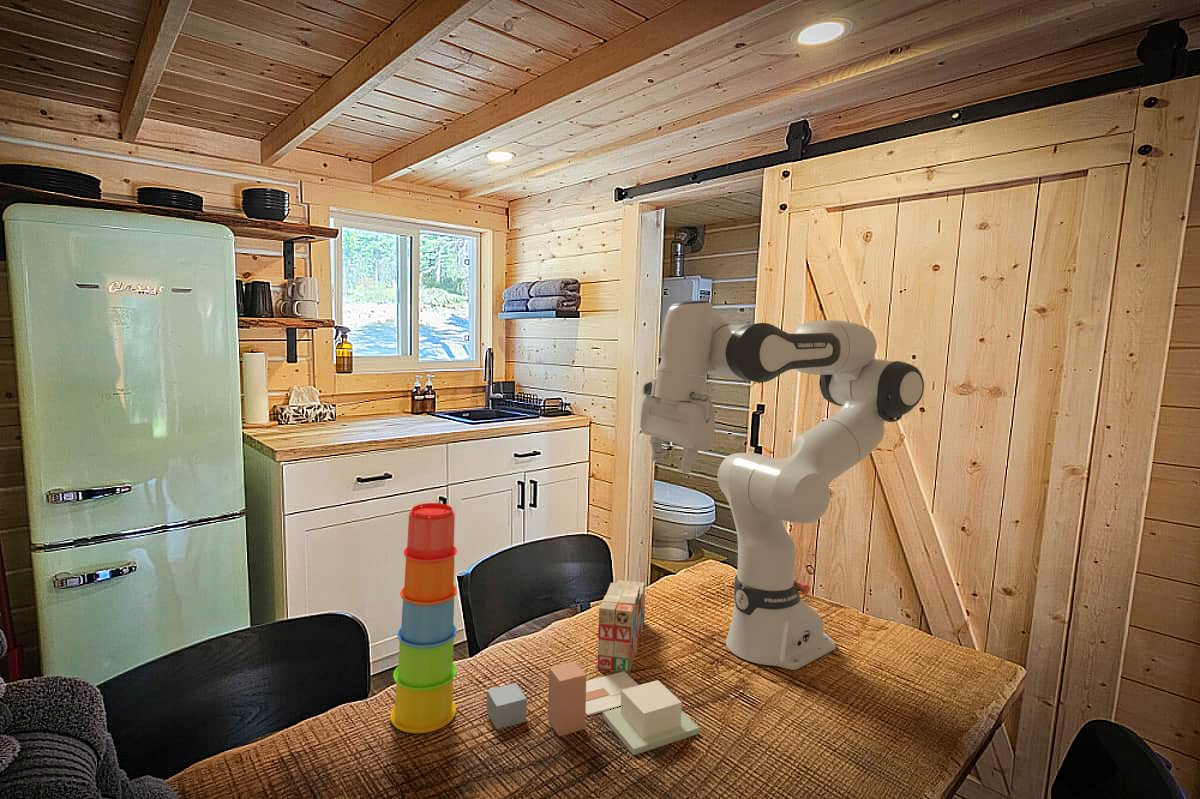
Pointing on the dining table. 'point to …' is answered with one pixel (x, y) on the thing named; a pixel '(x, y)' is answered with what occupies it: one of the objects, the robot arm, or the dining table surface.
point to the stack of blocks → (620, 625)
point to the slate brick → (506, 705)
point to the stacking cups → (427, 623)
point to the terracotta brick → (567, 698)
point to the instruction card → (606, 692)
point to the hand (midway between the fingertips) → (670, 467)
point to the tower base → (650, 741)
